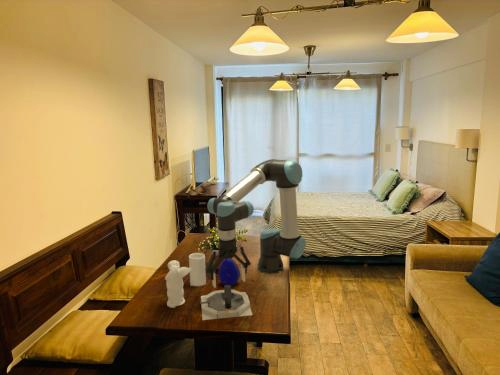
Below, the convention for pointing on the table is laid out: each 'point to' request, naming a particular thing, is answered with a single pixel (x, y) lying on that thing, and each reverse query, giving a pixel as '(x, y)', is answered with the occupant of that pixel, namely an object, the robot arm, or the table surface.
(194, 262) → the cup
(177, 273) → the cherub figurine
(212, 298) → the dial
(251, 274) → the table surface
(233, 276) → the ornament
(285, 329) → the table surface
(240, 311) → the grey octagonal tray
